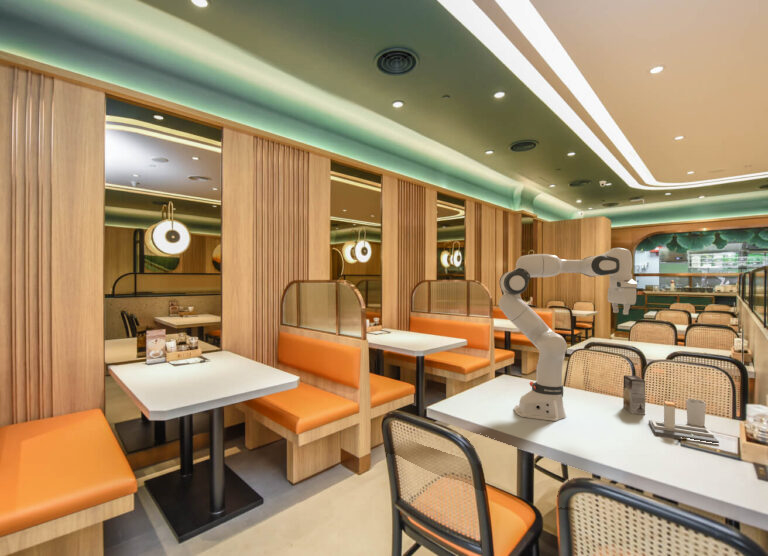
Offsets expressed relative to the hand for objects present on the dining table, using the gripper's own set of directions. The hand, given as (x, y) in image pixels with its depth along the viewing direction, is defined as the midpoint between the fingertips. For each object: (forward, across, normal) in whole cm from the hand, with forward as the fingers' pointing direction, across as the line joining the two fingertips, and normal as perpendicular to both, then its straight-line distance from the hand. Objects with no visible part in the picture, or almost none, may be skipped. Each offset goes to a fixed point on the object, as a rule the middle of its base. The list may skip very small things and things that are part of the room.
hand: (620, 313), depth 170 cm
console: (+48, +14, +17) cm, 53 cm away
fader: (+46, +13, +13) cm, 50 cm away
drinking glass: (+48, +1, +30) cm, 57 cm away
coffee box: (+48, -12, +11) cm, 51 cm away
